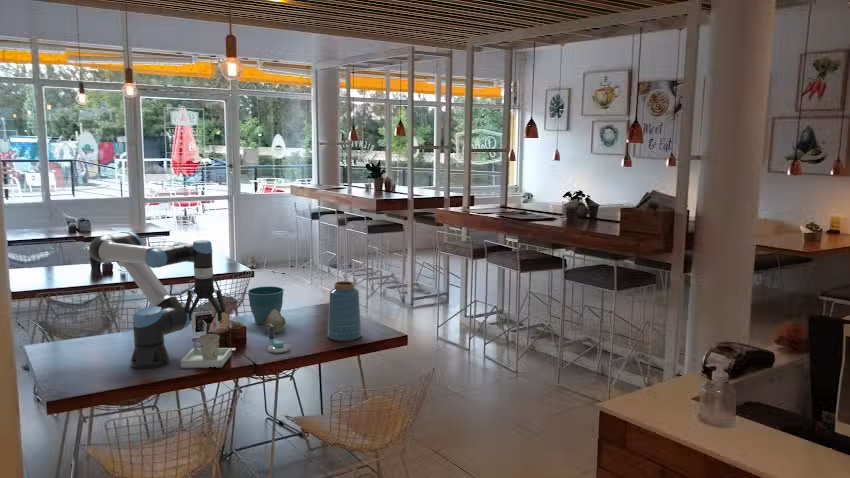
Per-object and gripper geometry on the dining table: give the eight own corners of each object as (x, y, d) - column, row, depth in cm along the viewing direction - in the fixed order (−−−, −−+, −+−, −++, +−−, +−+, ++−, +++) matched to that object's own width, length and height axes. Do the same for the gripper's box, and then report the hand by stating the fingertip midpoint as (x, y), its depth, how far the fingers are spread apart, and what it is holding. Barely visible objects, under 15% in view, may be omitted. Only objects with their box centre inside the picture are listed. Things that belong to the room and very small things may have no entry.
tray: (180, 367, 277) (180, 360, 277) (193, 354, 294) (193, 348, 294) (221, 367, 278) (221, 360, 278) (231, 354, 295) (231, 348, 294)
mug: (212, 363, 281) (211, 341, 279) (187, 359, 285) (186, 337, 283) (224, 356, 289) (223, 335, 287) (199, 353, 293) (198, 331, 291)
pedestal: (265, 353, 297) (265, 350, 296) (270, 346, 306) (270, 343, 306) (288, 353, 297) (288, 350, 297) (291, 346, 307) (291, 343, 307)
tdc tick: (226, 350, 300) (226, 349, 300) (228, 349, 302) (228, 348, 302) (234, 350, 300) (234, 349, 300) (235, 349, 302) (235, 348, 302)
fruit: (284, 328, 335) (284, 305, 333) (286, 333, 326) (286, 310, 324) (263, 330, 332) (263, 306, 330) (265, 335, 323) (265, 311, 321)
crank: (285, 347, 301) (284, 331, 300) (275, 348, 298) (275, 332, 297) (274, 338, 313) (274, 323, 312) (265, 340, 311) (264, 324, 310)
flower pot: (265, 328, 334) (265, 296, 332) (241, 323, 344) (240, 291, 341) (291, 320, 349) (290, 289, 347) (267, 315, 359) (266, 284, 356)
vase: (367, 338, 320) (367, 284, 316) (337, 344, 311) (336, 288, 307) (351, 330, 334) (351, 278, 329) (322, 335, 324) (321, 282, 320)
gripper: (174, 278, 276) (176, 330, 280) (227, 278, 277) (229, 330, 280) (180, 275, 284) (182, 325, 287) (232, 275, 284) (234, 325, 288)
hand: (205, 328), depth 284 cm, fingers open, 9 cm apart
